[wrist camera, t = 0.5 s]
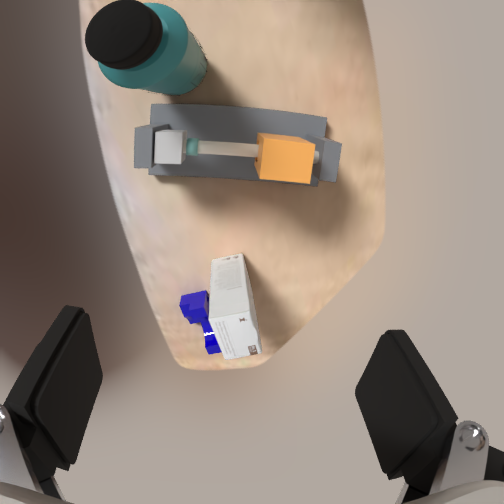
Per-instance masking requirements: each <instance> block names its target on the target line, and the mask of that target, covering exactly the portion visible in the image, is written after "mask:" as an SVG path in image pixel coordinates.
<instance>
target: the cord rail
mask: <svg viewBox="0 0 504 504" xmlns="http://www.w3.org/2000/svg"><path fill="white" fill-rule="evenodd" d="M326 123H327V118H326V117H320V116H314V115H307V114H301V113H293V112H286V111H278V110H269V109H259V108H249V107H236V106H222V105H201V104H151V115H150V125H146V126H141V127H137V128H135V140H134V168H149V175H168V176H193V177H212V178H228V179H242V180H255V181H267V182H278V183H288V184H298V185H308V186H318V180H321V181H329V182H336V178H337V172H338V166H339V160H340V153H341V147H342V144H341V143H339V142H336V141H333V140H330V139H327V138H325V130H326ZM257 133H268V134H277V135H286V136H294V137H300V138H302V139H304V140H307V141H309V142H311V143H313V144H315V152H314V159H313V166H312V173H311V180H310V184H307V183H298V182H288V181H278V180H267V179H260V178H259V176H258V173H257V171H256V168H255V166H254V163H255V157H257V158H258V148H259V145H258V144H256V143H257Z"/></svg>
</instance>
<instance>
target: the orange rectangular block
mask: <svg viewBox="0 0 504 504" xmlns="http://www.w3.org/2000/svg"><path fill="white" fill-rule="evenodd" d="M256 144H258V145H259V148H258V158H257V157H255V163H254V166H255V168H256V171H257V173H258V176H259V178H260V179H267V180H278V181H288V182H298V183H307V184H310V180H311V173H312V166H313V159H314V152H315V144H313V143H311V142H309V141H307V140H304V139H302V138H300V137H294V136H286V135H277V134H268V133H257V143H256Z"/></svg>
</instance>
